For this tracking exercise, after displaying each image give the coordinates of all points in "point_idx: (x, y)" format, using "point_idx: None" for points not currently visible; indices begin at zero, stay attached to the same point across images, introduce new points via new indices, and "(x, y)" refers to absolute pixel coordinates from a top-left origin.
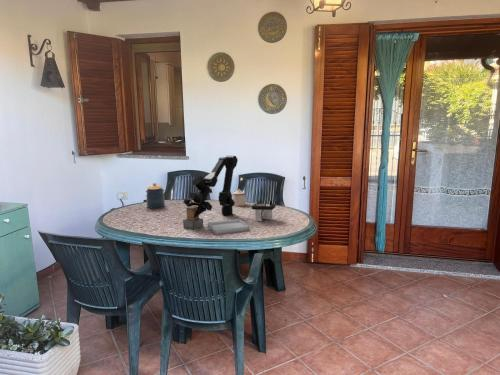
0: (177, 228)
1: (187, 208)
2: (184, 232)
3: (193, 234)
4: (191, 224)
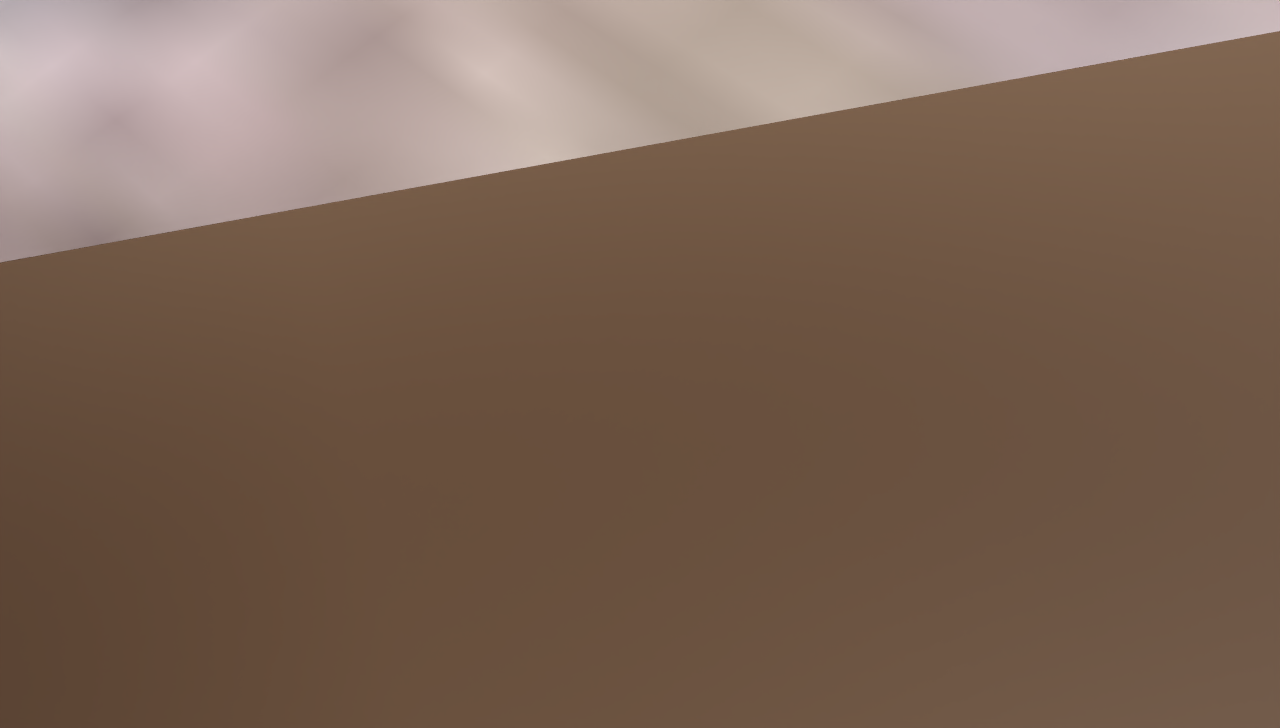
0: None
1: (1008, 162)
2: (449, 84)
3: (57, 150)
4: None
